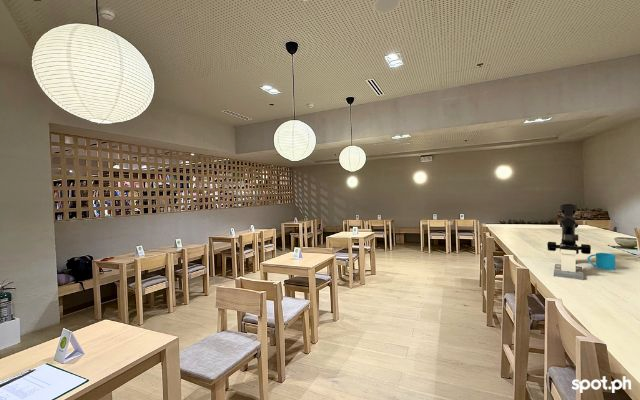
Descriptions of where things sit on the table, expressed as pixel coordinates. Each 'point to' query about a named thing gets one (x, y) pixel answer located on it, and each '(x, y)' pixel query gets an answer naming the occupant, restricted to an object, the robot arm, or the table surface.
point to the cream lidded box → (568, 260)
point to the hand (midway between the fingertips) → (568, 260)
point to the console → (567, 274)
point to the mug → (604, 261)
